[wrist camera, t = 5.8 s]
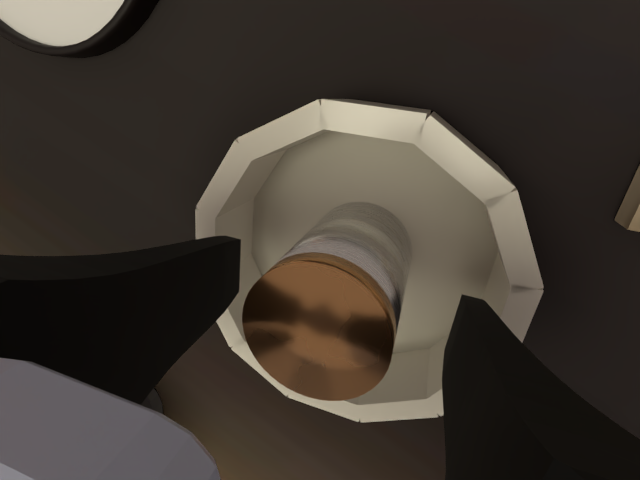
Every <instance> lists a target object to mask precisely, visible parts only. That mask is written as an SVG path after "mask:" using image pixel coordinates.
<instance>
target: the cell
mask: <svg viewBox="0 0 640 480" xmlns="http://www.w3.org/2000/svg"><path fill="white" fill-rule="evenodd" d="M411 260H412V244H411V240H410V237H409V234H408V232H407V230H406V228H405V227H404V225H403V224H402V222H401V221H400V220H399V219H398V218H397V217H396V216H395V215H394V214H392V213H391V212H390V211H388V210H387V209H385V208H383V207H381V206H379V205H376V204H373V203H368V202H349V203H345V204H342V205H339V206H337V207H335V208H334V209H332V210H331V211H329V212H328V213H327V214H326V215H325V216H324V217H323V218H322V219H321V220H320V221H319V222H318V223H317V224H316V225H314V226H313V227H312V228H311V229H310V230H309V231H308V232H307V233H306V234H305V235H304V236H303V237H302V238H301V239H300V240H299V241H298V242H297V243H296V244H295V245H294V246H293V247H292V248H291V249H290V250H289V251H288V252H287V253H286V254H285V255H284V256H283V257H282V258H280V259H279V260H278V261H277V262H276V263H275V264H274V265H273V266H272V267H271V268H270V269H269V270H268V271H267V272H266V273H265V274H264V275H263V276H262V277H261V278H260V279H259V280H258V281H257V282H256V283H255V284H254V285H253V286H252V288H251V289H250V291H249V292H248V295H247V297H246V299H245V302H244V306H243V312H242V325H243V332H244V335H245V339H246V341H247V344H248V346H249V348H250V350H251V352H252V354H253V356H254V357H255V359H256V360H257V361H258V363H259V364H260V365H261V366H262V368H263V369H264V370H265V371H266V372H267V373H268V374H269V375H270V376H271V377H272V378H274V379H275V380H276V381H277V382H279V383H280V384H282V385H283V386H285V387H286V388H288V389H290V390H292V391H294V392H296V393H298V394H301V395H303V396H306V397H310V398H313V399H318V400H325V401H342V400H349V399H352V398H356V397H359V396H361V395H363V394H365V393H367V392H368V391H370V390H372V389H373V388H374V387H375V386H376V385H377V384H379V382H380V381H381V380H382V379H383V377H384V376H385V374H386V372H387V370H388V368H389V365H390V362H391V358H392V353H393V348H394V343H395V338H396V334H397V329H398V324H399V319H400V314H401V309H402V304H403V299H404V294H405V289H406V285H407V280H408V275H409V270H410V265H411Z"/></svg>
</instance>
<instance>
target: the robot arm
mask: <svg viewBox="0 0 640 480" xmlns="http://www.w3.org/2000/svg"><path fill="white" fill-rule="evenodd" d="M240 255H241V239H237V238H233V237H229V236H213V237H207V238H201V239H196V240H191V241H186V242H181V243H176V244H171V245H166V246H160V247H154V248H148V249H143V250H137V251H130V252H122V253H112V254H101V255H83V256H13V255H0V480H221V479H220V475H219V472H218V468H217V465H216V462H215V459H214V458H213V457H212V456H211V454H210V453H209V452H208V451H207V450H206V448H205V447H204V446H203V445H202V444H201V442H200V441H199V440H198V439H197V438H196V436H195V435H194V434H193V433H192V432H191V431H189V430H187V429H186V428H184V427H183V426H181V425H179V424H178V423H176V422H175V421H173V420H171V419H170V418H168V417H166V416H165V415H163V414H162V413H159V412H157V411H154V410H152V409H149V408H147V407H144V406H142V405H141V404H142V403H143V401H144V400H145V399H146V397H147V396H148V395H149V393H150V392H151V391H152V389H153V388H154V387H155V386H156V385H157V383H158V382H159V381H160V380H161V378H162V377H163V376H164V375H165V373H166V372H167V371H168V370H169V368H170V367H171V366H172V365H173V364H174V363H175V362H176V361H177V360H178V359H179V358H180V357H181V356H182V355H183V354H184V353H185V352H186V351H187V350H188V349H189V348H190V347H191V346H192V345H193V344H194V343H195V342H196V341H197V340H198V339H199V338H200V337H201V336H202V335H203V334H204V333H205V332H206V331H207V330H208V329H209V328H210V327H211V326H212V325H213V324H214V323H215V321H216V320H217V319H218V318H219V317H220V316H221V315H222V314H223V313H224V312H225V311H226V309H227V308H228V307H229V305H230V304H231V303H232V301H233V300H234V298H235V297H236V295H237V294H238V293H239V283H240ZM442 394H443V412H444V429H445V446H446V477H445V480H640V439H638V438H637V437H635V436H634V435H632V434H631V433H629V432H628V431H626V430H625V429H623V428H622V427H620V426H619V425H618V424H616V423H615V422H613V421H612V420H611V419H609V418H608V417H607V416H605V415H604V414H603V413H601V412H600V411H598V410H597V409H596V408H594V407H593V406H592V405H590V404H589V403H588V402H586V401H585V400H584V399H583V398H581V397H580V396H579V395H578V394H576V393H575V392H574V391H573V390H572V389H570V388H569V387H568V386H567V385H566V384H565V383H563V382H562V381H561V380H560V379H559V378H557V377H556V376H555V375H554V374H553V373H552V372H551V371H550V370H549V369H548V368H546V367H545V366H544V365H543V364H542V363H541V362H540V361H539V360H538V359H537V358H536V357H535V356H534V355H533V354H532V353H531V352H530V351H529V350H528V349H527V348H526V347H525V346H524V344H523V343H522V342H521V341H520V340H519V339H518V338H517V337H516V336H515V335H514V334H513V332H512V331H511V330H510V329H509V328H508V327H507V326H506V324H505V323H504V322H503V321H502V320H501V319H500V317H499V316H498V315H497V314H496V313H495V311H494V310H493V309H492V308H491V307H490V306H489V304H488V303H487V302H486V301H485V300H483V299H479V298H475V297H471V296H467V295H463V294H462V295H461V299H460V302H459V305H458V308H457V311H456V314H455V318H454V321H453V324H452V327H451V330H450V334H449V337H448V340H447V343H446V346H445V349H444V358H443V370H442Z"/></svg>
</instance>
